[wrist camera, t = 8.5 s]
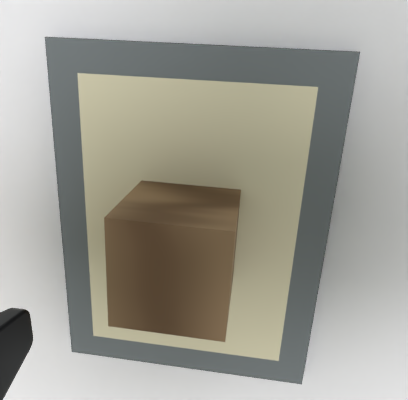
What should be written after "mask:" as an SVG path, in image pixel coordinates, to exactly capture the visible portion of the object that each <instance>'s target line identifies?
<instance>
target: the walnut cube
mask: <svg viewBox="0 0 408 400" xmlns="http://www.w3.org/2000/svg"><path fill="white" fill-rule="evenodd" d="M240 196H241V190H240V189H229V188H218V187H207V186H197V185H186V184H175V183H164V182H154V181H143V180H141V181H140V182H139V183H138V184H137V185H136V186H135V187H134V188H133V189H132V190H131V191H130V192H129V193H128V194H127V195H126V196H125V197H124V198H123V199H122V200H121V201H120V202H119V203H118V204H117V205H116V206H115V207H114V208H113V209H112V210H111V211H110V212H109V213H108V214H107V215H106V216H105V217H104V230H105V256H106V282H107V308H108V326H110V327H117V328H125V329H132V330H139V331H147V332H154V333H161V334H169V335H176V336H183V337H191V338H198V339H205V340H213V341H220V342H225V340H226V332H227V324H228V315H229V307H230V299H231V291H232V282H233V273H234V262H235V251H236V240H237V229H238V218H239V207H240Z"/></svg>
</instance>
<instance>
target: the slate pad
mask: <svg viewBox="0 0 408 400" xmlns="http://www.w3.org/2000/svg"><path fill="white" fill-rule="evenodd" d="M45 44H46V56H47V67H48V79H49V91H50V102H51V114H52V126H53V137H54V149H55V161H56V172H57V184H58V196H59V207H60V219H61V231H62V242H63V254H64V266H65V277H66V289H67V301H68V313H69V324H70V336H71V348H72V352H78V353H85V354H92V355H99V356H106V357H113V358H120V359H127V360H134V361H141V362H148V363H155V364H162V365H170V366H177V367H184V368H191V369H198V370H205V371H212V372H219V373H226V374H233V375H240V376H247V377H254V378H261V379H268V380H276V381H283V382H290V383H297V384H302V380H303V374H304V368H305V363H306V357H307V351H308V346H309V340H310V334H311V328H312V323H313V317H314V311H315V306H316V300H317V294H318V289H319V283H320V277H321V271H322V266H323V260H324V254H325V249H326V243H327V237H328V232H329V226H330V220H331V214H332V209H333V203H334V197H335V192H336V186H337V180H338V175H339V169H340V163H341V157H342V152H343V146H344V140H345V135H346V129H347V123H348V118H349V112H350V106H351V101H352V95H353V89H354V83H355V78H356V72H357V66H358V61H359V55H360V52H352V51H331V50H310V49H289V48H268V47H247V46H226V45H205V44H184V43H162V42H141V41H120V40H99V39H78V38H57V37H45ZM141 180H143V181H154V182H164V183H175V184H186V185H197V186H207V187H218V188H229V189H240V190H241V196H240V207H239V218H238V229H237V240H236V251H235V262H234V273H233V282H232V291H231V299H230V307H229V315H228V324H227V332H226V340H225V342H220V341H213V340H205V339H198V338H191V337H183V336H176V335H169V334H161V333H154V332H147V331H139V330H132V329H125V328H117V327H110V326H108V308H107V282H106V256H105V230H104V217H105V216H106V215H107V214H108V213H109V212H110V211H111V210H112V209H113V208H114V207H115V206H116V205H117V204H118V203H119V202H120V201H121V200H122V199H123V198H124V197H125V196H126V195H127V194H128V193H129V192H130V191H131V190H132V189H133V188H134V187H135V186H136V185H137V184H138V183H139V182H140V181H141Z"/></svg>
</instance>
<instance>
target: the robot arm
mask: <svg viewBox="0 0 408 400" xmlns="http://www.w3.org/2000/svg"><path fill="white" fill-rule="evenodd" d="M32 342H33V333H32V326H31V319H30V313H29V312H28V311H27V310H25V309H18V308H10V309H7V310H5V311H3V312H0V400H3V398H4V397H5V395H6V393H7V391H8V389H9V387H10V385H11V383H12V382H13V380H14V378H15V376H16V374H17V372H18V370H19V369H20V367H21V365H22V363H23V361H24V359H25V357H26V355H27V354H28V352H29V350H30V348H31V345H32Z"/></svg>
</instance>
